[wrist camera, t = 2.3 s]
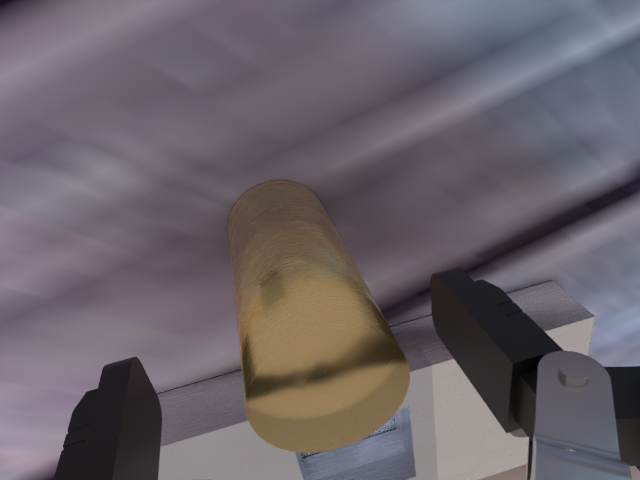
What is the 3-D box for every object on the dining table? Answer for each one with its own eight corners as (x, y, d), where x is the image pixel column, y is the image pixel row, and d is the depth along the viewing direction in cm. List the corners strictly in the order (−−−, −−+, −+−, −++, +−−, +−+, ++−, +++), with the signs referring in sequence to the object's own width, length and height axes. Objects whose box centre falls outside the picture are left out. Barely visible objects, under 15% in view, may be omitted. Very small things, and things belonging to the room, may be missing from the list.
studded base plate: (552, 280, 23) (604, 324, 20) (536, 407, 29) (577, 458, 25) (77, 417, 21) (55, 491, 18) (154, 530, 26) (147, 602, 23)
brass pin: (316, 169, 18) (404, 308, 10) (332, 254, 20) (414, 424, 12) (215, 194, 17) (225, 359, 10) (242, 278, 19) (267, 471, 12)
